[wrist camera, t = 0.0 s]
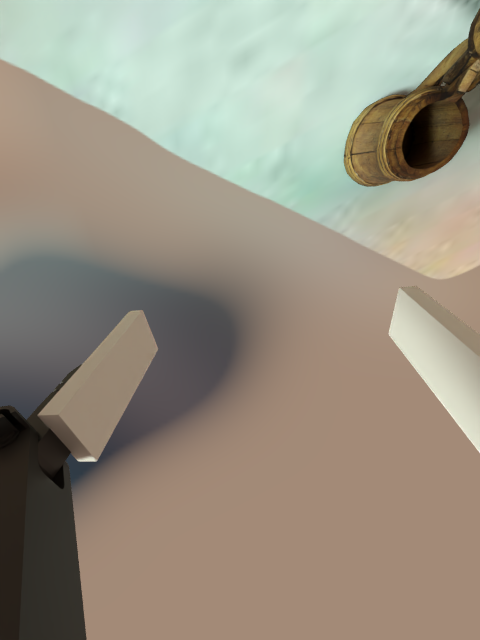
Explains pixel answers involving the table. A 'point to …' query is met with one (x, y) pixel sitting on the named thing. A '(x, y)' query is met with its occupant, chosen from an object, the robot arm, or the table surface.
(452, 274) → the table surface
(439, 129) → the wooden mug
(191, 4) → the table surface
